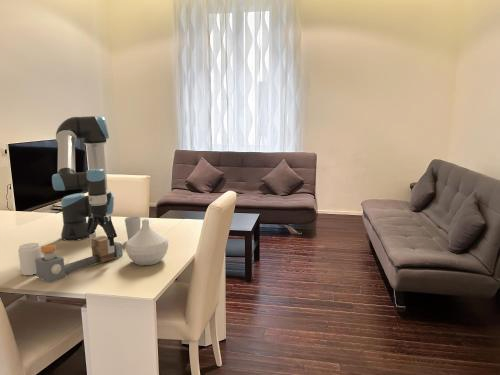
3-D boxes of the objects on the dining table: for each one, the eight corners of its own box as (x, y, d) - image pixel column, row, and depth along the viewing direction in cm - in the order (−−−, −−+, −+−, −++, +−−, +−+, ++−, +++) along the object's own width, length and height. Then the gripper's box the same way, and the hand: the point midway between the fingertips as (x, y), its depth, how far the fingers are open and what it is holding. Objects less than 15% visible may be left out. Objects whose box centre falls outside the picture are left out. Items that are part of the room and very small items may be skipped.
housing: (37, 277, 168) (35, 259, 166) (54, 272, 173) (52, 254, 172) (49, 282, 162) (46, 263, 161) (66, 277, 168) (64, 258, 166)
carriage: (92, 259, 186) (90, 238, 185) (104, 256, 191) (102, 235, 189) (102, 262, 182) (100, 241, 180) (113, 258, 187) (112, 237, 185)
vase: (147, 272, 171) (144, 227, 167) (117, 264, 180) (114, 222, 177) (177, 258, 186) (175, 217, 183) (148, 252, 196) (145, 213, 192)
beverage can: (26, 269, 177) (23, 243, 175) (46, 268, 178) (43, 242, 176) (17, 277, 169) (14, 249, 167) (38, 275, 170) (34, 248, 168)
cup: (137, 243, 211) (136, 220, 209) (123, 242, 213) (121, 220, 211) (144, 238, 219) (143, 216, 217) (130, 238, 220) (129, 216, 218)
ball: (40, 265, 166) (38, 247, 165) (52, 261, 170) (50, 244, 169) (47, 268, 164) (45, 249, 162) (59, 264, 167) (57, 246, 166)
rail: (56, 273, 172) (55, 259, 171) (116, 254, 195) (115, 241, 194) (63, 275, 169) (61, 261, 168) (122, 255, 192) (121, 243, 191)
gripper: (75, 202, 187) (79, 247, 190) (107, 208, 172) (111, 257, 175) (90, 199, 193) (94, 243, 196) (122, 205, 178) (126, 252, 181)
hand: (102, 250), depth 186 cm, fingers open, 13 cm apart
